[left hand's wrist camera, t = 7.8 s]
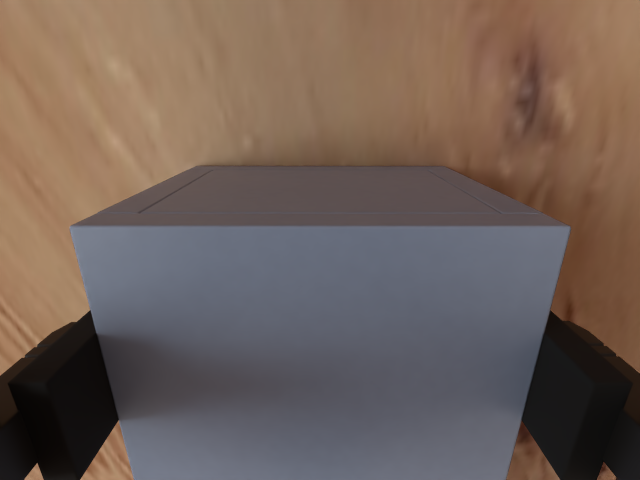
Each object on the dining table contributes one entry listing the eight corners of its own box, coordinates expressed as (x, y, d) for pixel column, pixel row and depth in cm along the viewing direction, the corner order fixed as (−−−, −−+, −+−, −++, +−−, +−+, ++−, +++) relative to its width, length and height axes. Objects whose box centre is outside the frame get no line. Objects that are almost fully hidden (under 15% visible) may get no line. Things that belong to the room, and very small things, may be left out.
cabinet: (407, 469, 22) (457, 672, 14) (231, 469, 22) (182, 671, 14) (445, 165, 15) (573, 226, 7) (195, 165, 15) (67, 225, 7)
